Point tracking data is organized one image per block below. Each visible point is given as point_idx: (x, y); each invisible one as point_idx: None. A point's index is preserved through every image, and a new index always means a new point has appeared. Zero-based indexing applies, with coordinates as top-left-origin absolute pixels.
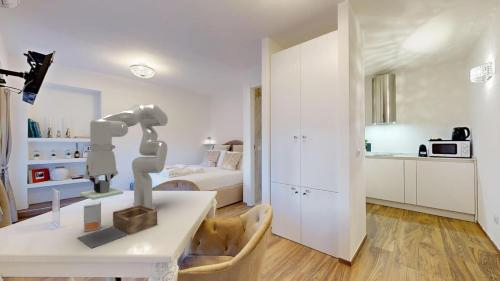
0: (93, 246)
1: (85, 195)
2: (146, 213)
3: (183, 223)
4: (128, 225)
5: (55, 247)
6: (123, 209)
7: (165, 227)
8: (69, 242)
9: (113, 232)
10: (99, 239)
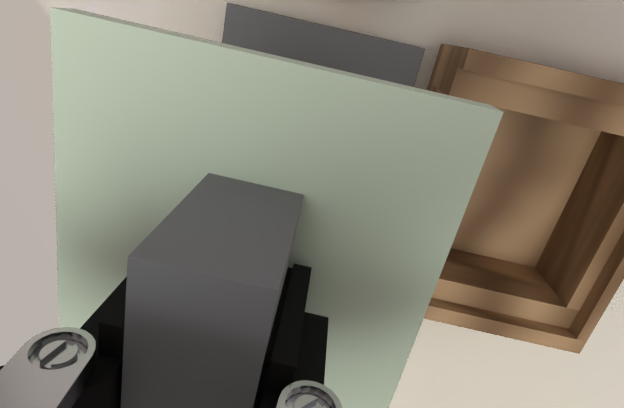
0: None
1: (64, 214)
2: (500, 332)
3: (577, 401)
4: None
5: (117, 9)
6: (556, 78)
7: (507, 352)
8: (182, 17)
9: None
10: None
